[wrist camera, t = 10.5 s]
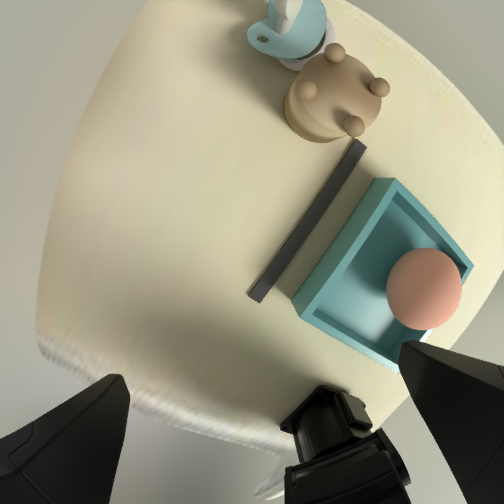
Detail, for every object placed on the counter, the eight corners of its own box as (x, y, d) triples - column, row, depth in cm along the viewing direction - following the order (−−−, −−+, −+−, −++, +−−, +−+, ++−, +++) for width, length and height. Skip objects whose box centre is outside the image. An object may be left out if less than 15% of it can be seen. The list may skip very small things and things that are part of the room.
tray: (384, 355, 23) (398, 373, 21) (291, 300, 21) (299, 317, 19) (453, 256, 22) (474, 265, 19) (375, 177, 20) (395, 177, 17)
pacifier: (343, 26, 17) (277, -6, 16) (376, -10, 11) (293, -51, 10) (310, 89, 18) (236, 54, 17) (342, 59, 12) (241, 11, 11)
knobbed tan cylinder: (327, 156, 19) (363, 147, 13) (269, 115, 18) (284, 88, 12) (361, 107, 18) (402, 85, 13) (307, 66, 18) (332, 30, 12)
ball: (426, 348, 19) (484, 312, 15) (373, 335, 18) (438, 290, 14) (415, 288, 23) (462, 248, 18) (366, 267, 22) (415, 218, 17)
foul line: (259, 302, 21) (259, 303, 21) (248, 295, 21) (248, 296, 21) (365, 147, 19) (366, 147, 19) (355, 139, 19) (356, 138, 19)
